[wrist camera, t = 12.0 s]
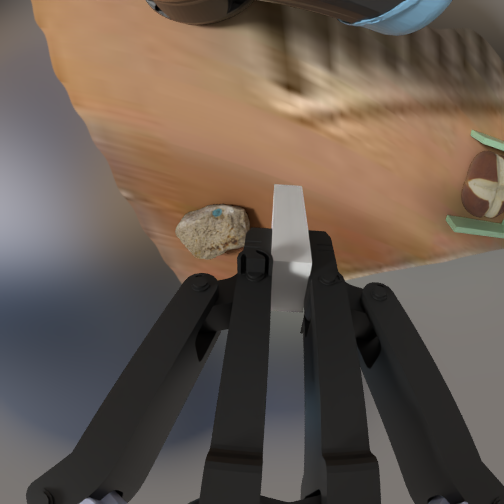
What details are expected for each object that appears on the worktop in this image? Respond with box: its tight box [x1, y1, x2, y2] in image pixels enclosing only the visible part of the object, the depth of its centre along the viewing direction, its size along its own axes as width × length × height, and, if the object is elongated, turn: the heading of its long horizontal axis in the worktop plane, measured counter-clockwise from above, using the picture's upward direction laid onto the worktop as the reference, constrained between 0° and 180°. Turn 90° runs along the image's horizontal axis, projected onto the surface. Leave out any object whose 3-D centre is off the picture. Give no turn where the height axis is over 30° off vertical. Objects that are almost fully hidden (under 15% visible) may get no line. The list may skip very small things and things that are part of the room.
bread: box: [461, 151, 504, 218], centre depth 36 cm, size 11×11×5 cm
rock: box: [175, 204, 250, 259], centre depth 46 cm, size 8×11×4 cm
